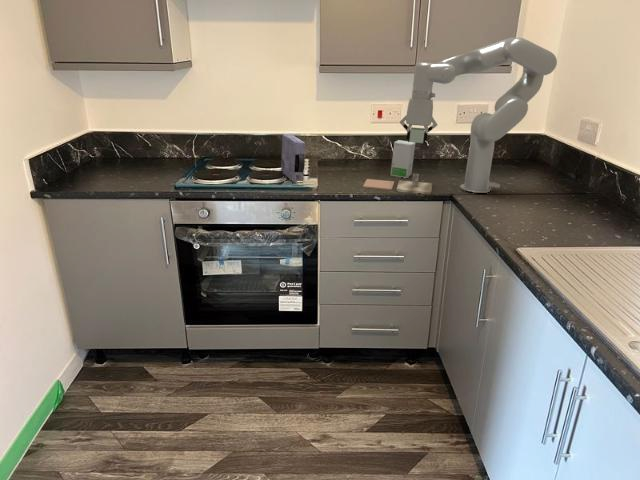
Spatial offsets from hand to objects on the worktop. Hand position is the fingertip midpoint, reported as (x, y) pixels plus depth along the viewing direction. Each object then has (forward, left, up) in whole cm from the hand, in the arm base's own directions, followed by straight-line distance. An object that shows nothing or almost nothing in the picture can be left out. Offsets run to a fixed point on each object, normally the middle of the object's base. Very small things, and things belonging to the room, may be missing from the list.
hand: (416, 141), depth 201 cm
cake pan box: (+52, +1, -20) cm, 56 cm away
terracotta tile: (+14, 0, -20) cm, 24 cm away
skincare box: (+6, -19, -20) cm, 28 cm away
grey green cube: (0, 0, 0) cm, 0 cm away
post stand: (-1, 0, -20) cm, 20 cm away
